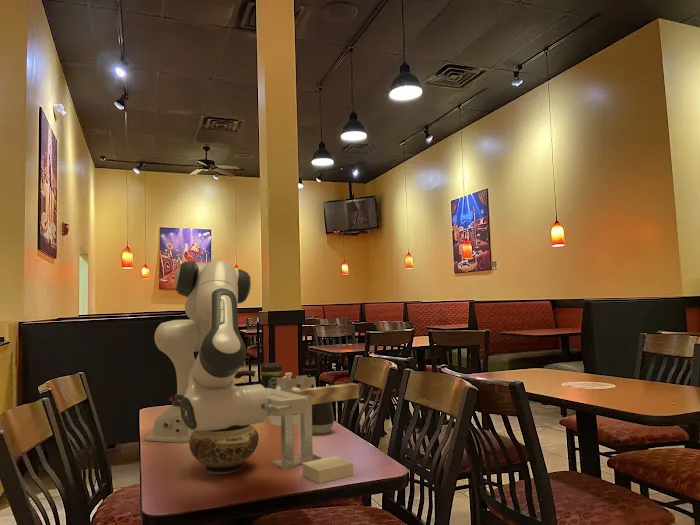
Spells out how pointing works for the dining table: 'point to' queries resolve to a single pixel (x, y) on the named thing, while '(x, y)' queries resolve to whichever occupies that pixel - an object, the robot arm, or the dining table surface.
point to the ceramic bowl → (224, 447)
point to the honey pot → (277, 418)
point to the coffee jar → (270, 374)
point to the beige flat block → (327, 469)
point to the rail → (330, 393)
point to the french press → (244, 373)
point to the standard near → (286, 430)
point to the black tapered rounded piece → (322, 418)
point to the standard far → (306, 424)
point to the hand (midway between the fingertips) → (305, 397)
